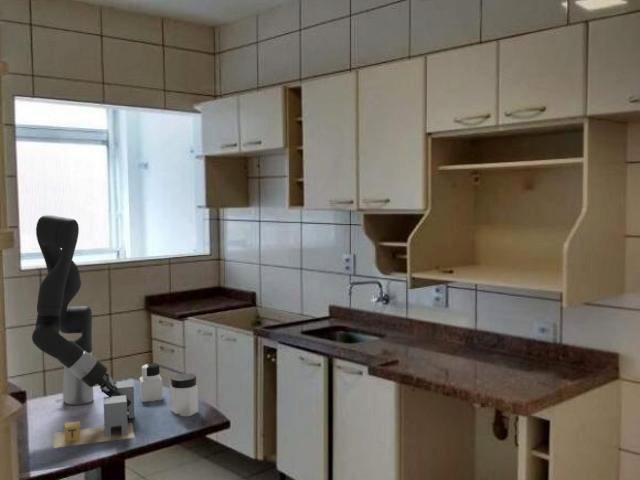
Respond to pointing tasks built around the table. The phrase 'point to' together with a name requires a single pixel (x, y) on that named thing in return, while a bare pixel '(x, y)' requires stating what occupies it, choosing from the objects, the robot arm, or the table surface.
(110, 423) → the empty cover
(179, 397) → the jar
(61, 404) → the table surface
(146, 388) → the medicine bottle
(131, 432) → the birch board
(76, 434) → the letter cube
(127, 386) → the cube cover
